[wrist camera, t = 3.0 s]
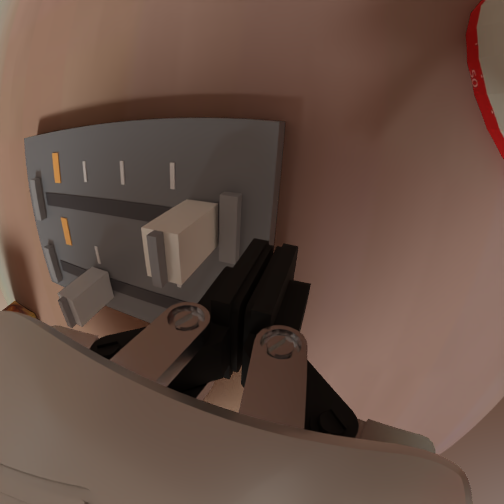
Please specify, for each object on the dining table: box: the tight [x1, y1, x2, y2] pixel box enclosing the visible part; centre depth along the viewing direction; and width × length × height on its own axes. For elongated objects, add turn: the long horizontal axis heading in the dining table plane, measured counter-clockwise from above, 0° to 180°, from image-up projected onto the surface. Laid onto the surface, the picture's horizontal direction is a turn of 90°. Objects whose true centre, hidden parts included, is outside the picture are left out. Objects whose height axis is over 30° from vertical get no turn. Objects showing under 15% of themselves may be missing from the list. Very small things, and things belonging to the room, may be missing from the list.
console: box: [24, 117, 285, 323], centre depth 20 cm, size 16×24×2 cm, turn 87°
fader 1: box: [58, 267, 114, 328], centre depth 20 cm, size 3×2×5 cm
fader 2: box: [141, 199, 218, 288], centre depth 14 cm, size 3×2×5 cm
